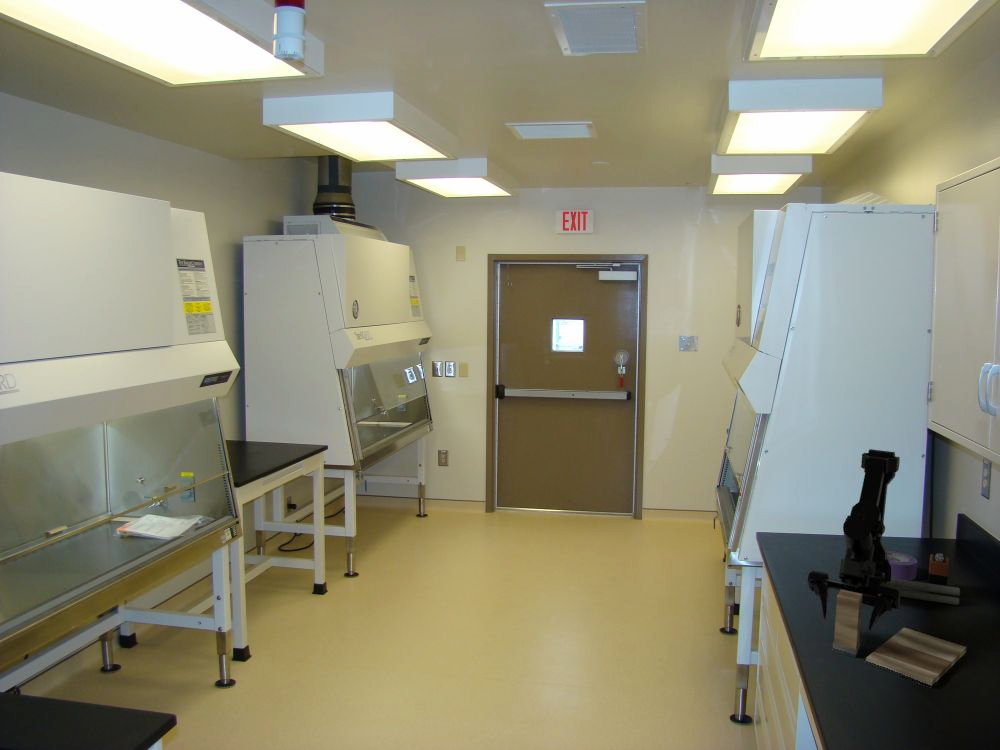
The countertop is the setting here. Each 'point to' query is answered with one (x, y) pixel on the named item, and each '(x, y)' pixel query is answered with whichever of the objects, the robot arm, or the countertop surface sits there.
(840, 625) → the tall wooden post
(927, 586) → the metal rod assembly
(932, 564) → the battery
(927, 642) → the subfloor panel
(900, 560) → the tape roll
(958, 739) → the countertop surface
